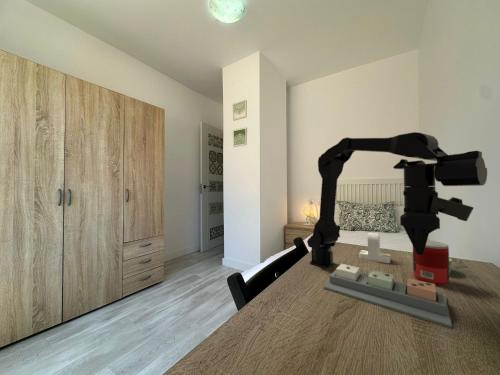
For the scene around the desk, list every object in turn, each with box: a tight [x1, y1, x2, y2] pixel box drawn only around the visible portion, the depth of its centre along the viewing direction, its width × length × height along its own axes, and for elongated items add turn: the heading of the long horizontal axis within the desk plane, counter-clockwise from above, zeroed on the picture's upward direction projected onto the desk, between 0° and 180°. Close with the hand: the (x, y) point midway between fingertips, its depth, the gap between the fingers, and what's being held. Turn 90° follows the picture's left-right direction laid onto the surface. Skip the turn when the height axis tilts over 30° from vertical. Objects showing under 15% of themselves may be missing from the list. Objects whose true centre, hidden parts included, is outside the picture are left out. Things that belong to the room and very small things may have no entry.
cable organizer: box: [358, 232, 391, 264], centre depth 79 cm, size 5×10×10 cm, turn 52°
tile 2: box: [368, 270, 395, 291], centre depth 53 cm, size 5×5×2 cm
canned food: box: [412, 239, 450, 287], centre depth 60 cm, size 8×8×11 cm
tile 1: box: [335, 263, 361, 281], centre depth 58 cm, size 5×5×2 cm
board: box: [323, 269, 453, 329], centre depth 53 cm, size 25×14×2 cm, turn 49°
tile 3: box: [406, 278, 437, 302], centre depth 48 cm, size 5×5×2 cm
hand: (420, 252), depth 48 cm, fingers open, 3 cm apart
